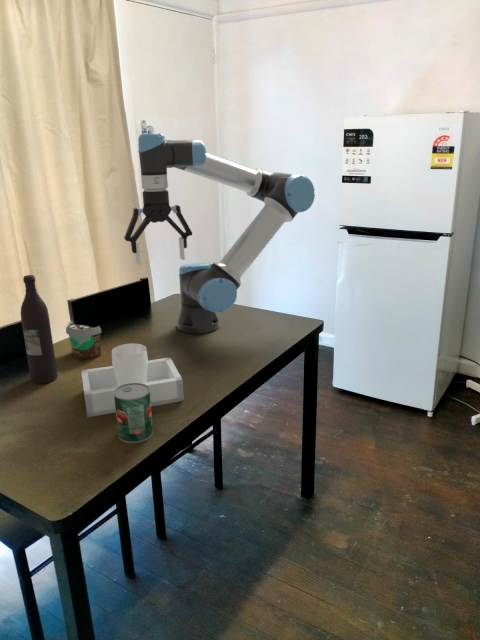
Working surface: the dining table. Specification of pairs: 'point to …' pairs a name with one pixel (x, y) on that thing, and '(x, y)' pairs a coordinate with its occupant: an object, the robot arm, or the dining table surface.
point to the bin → (159, 380)
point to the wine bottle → (37, 335)
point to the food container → (84, 340)
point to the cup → (130, 363)
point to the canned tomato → (133, 412)
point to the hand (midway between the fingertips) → (160, 261)
